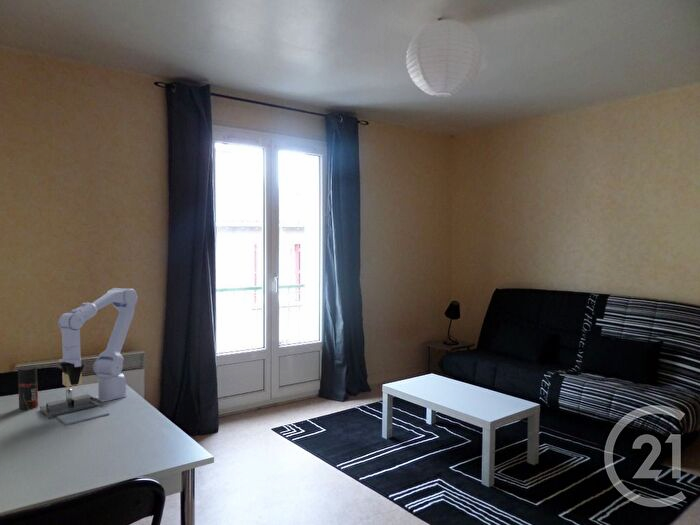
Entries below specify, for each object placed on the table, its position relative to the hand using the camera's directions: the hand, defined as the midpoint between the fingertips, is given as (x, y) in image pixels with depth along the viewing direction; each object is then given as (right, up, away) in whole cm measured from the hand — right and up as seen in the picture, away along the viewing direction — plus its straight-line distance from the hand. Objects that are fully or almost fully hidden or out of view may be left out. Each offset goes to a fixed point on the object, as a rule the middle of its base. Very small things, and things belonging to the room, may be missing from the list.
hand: (72, 383), depth 179 cm
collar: (0, 0, 0) cm, 0 cm away
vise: (-3, -10, +3) cm, 11 cm away
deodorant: (-19, -11, +4) cm, 22 cm away
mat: (+7, -11, -5) cm, 14 cm away
